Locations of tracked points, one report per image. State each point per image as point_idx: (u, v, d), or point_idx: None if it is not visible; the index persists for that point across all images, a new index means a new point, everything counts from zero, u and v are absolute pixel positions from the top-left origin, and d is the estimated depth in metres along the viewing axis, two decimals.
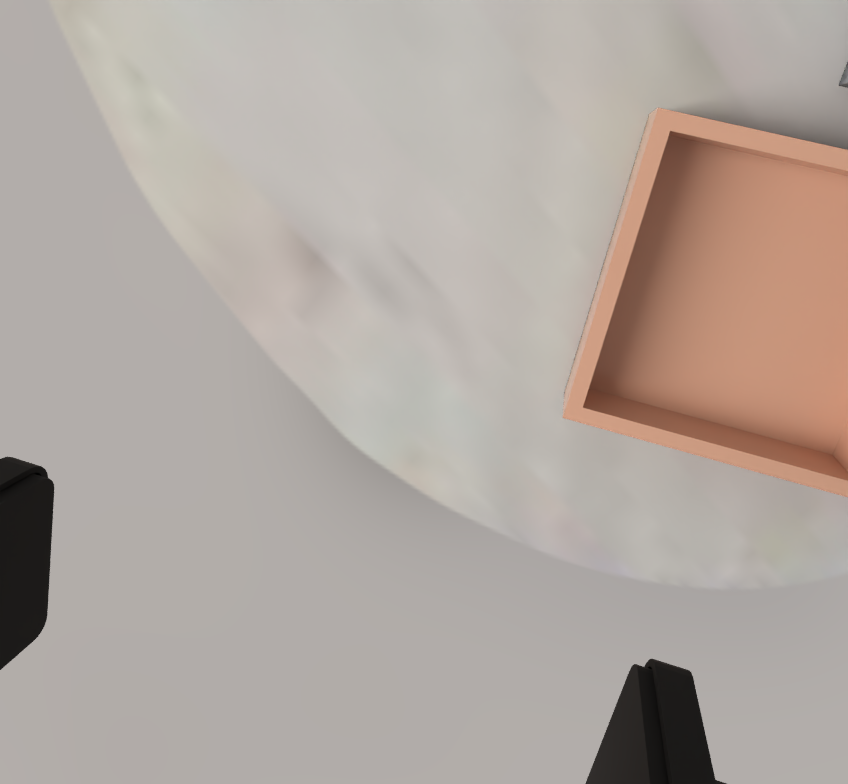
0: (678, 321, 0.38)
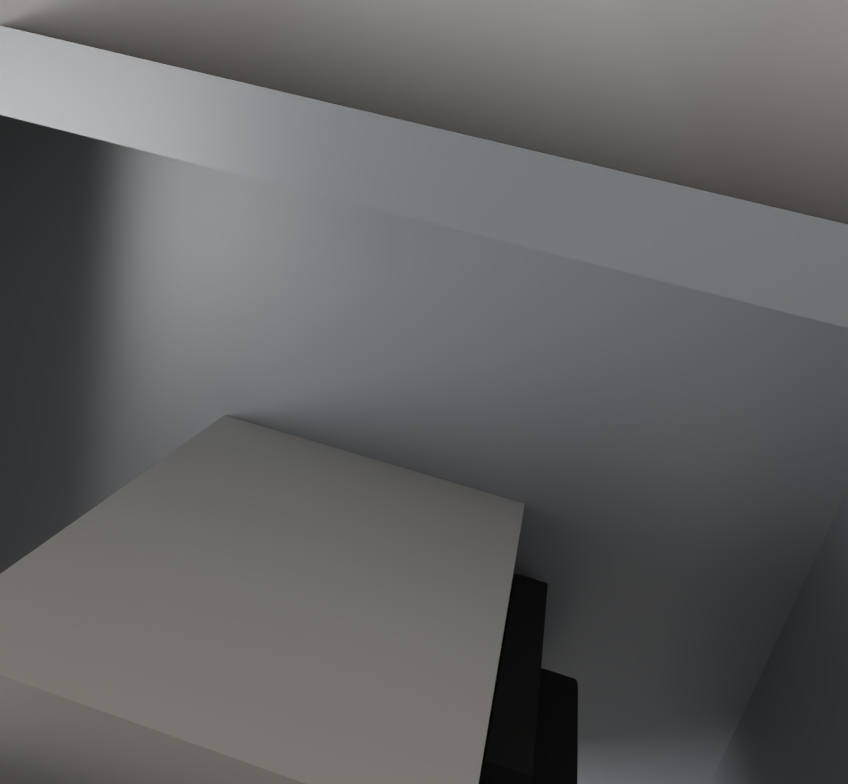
0: None
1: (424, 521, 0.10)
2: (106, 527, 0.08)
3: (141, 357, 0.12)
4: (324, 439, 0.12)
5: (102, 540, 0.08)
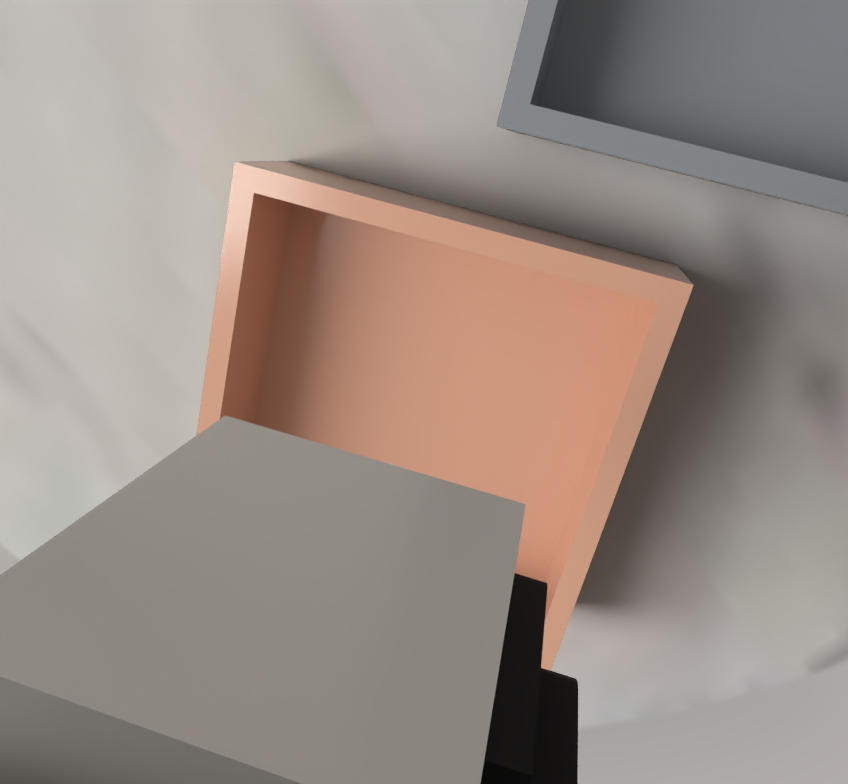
0: (343, 423, 0.30)
1: (425, 522, 0.10)
2: (107, 528, 0.08)
3: None
4: None
5: (103, 540, 0.08)
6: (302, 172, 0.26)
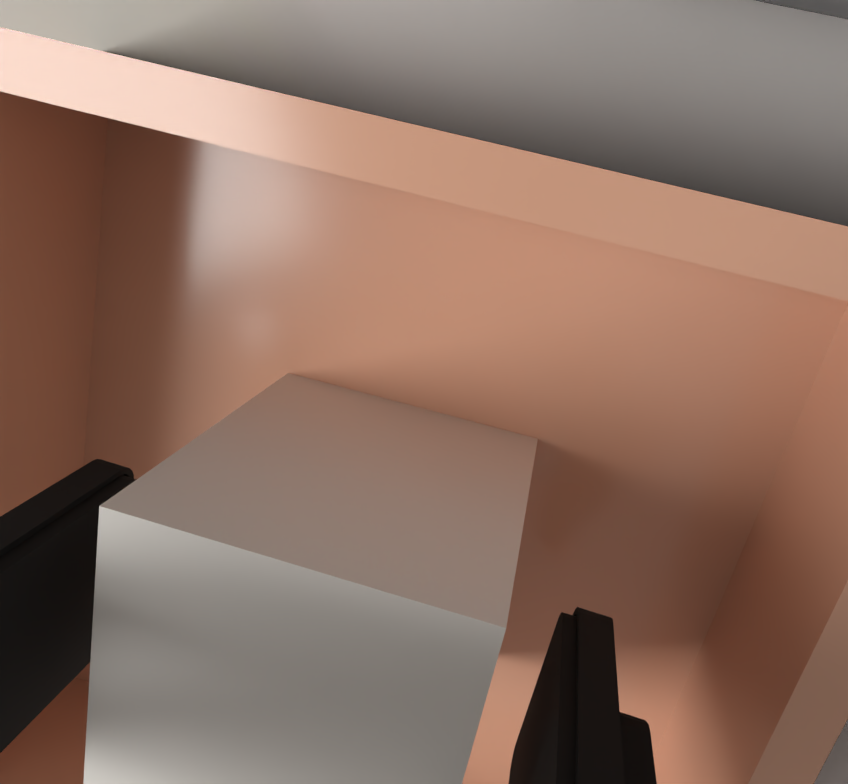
0: None
1: (457, 448, 0.13)
2: (217, 444, 0.11)
3: None
4: None
5: (216, 452, 0.11)
6: None
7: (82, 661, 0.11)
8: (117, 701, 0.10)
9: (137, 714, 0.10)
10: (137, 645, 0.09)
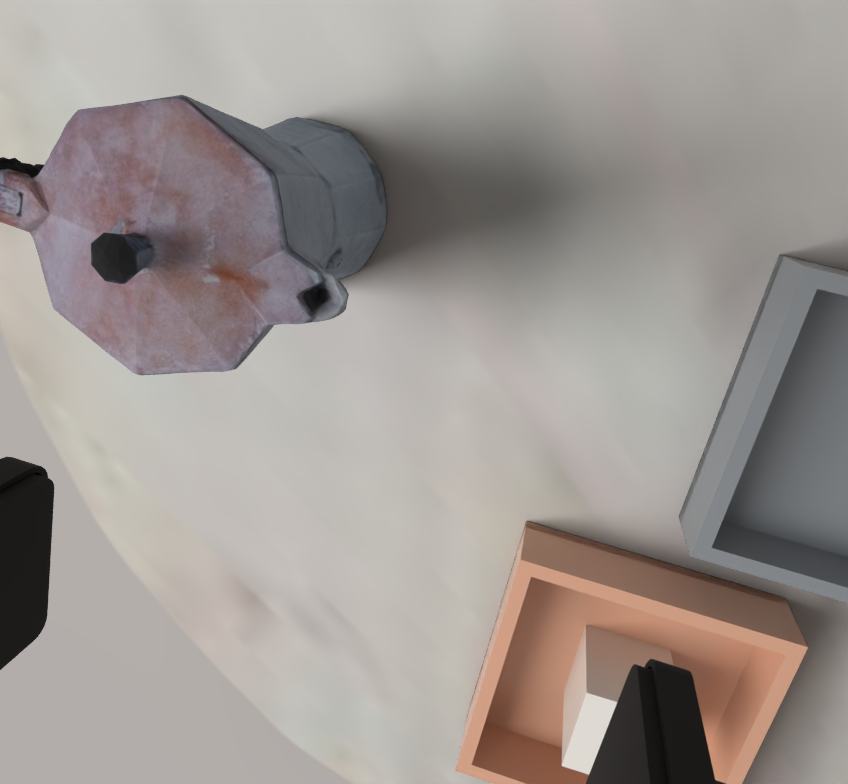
0: (556, 680, 0.45)
1: (650, 658, 0.42)
2: (592, 666, 0.40)
3: (820, 360, 0.36)
4: None
5: (594, 669, 0.40)
6: (551, 549, 0.41)
7: None
8: (580, 737, 0.39)
9: (585, 740, 0.39)
10: (589, 723, 0.38)
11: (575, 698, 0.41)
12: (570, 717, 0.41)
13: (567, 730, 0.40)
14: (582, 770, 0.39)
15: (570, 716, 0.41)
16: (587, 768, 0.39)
